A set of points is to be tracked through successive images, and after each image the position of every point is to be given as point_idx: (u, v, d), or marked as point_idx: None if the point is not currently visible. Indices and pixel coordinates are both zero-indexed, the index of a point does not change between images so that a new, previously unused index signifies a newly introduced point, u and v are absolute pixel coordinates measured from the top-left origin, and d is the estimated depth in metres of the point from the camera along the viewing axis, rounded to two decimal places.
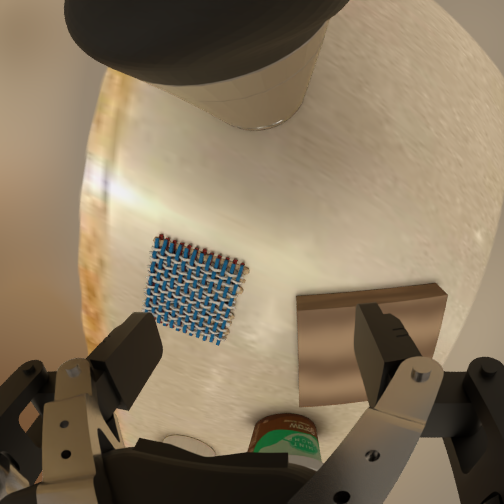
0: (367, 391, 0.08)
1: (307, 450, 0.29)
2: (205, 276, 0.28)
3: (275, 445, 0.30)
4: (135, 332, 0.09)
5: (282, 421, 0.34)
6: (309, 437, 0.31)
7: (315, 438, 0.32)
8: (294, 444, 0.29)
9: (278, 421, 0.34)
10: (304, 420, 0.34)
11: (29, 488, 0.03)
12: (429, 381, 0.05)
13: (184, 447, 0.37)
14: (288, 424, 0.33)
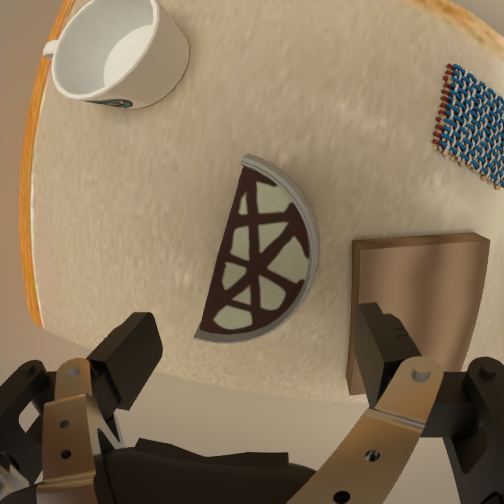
0: (367, 391, 0.08)
1: None
2: (501, 150, 0.18)
3: None
4: (135, 332, 0.09)
5: None
6: None
7: None
8: None
9: None
10: None
11: (29, 488, 0.03)
12: (429, 381, 0.05)
13: (180, 51, 0.19)
14: None
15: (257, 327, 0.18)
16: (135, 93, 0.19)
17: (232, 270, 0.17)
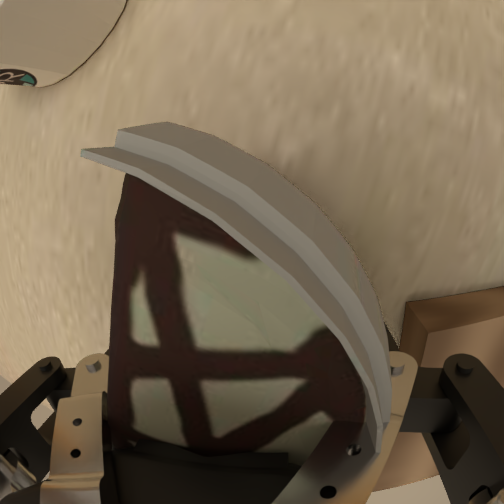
0: None
1: None
2: None
3: None
4: None
5: None
6: None
7: None
8: None
9: None
10: None
11: (29, 488, 0.03)
12: (402, 375, 0.05)
13: None
14: None
15: None
16: (23, 55, 0.07)
17: None
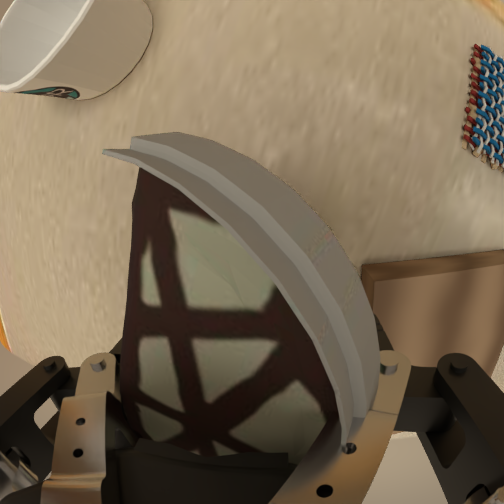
0: None
1: None
2: None
3: None
4: None
5: None
6: None
7: None
8: None
9: None
10: None
11: (29, 488, 0.03)
12: (395, 374, 0.06)
13: (137, 22, 0.13)
14: None
15: None
16: (77, 77, 0.12)
17: (153, 419, 0.06)
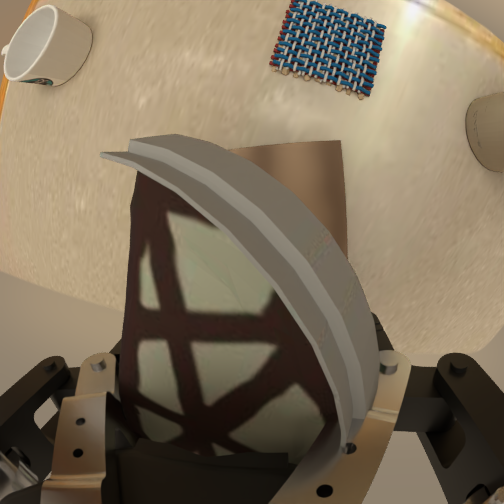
0: None
1: None
2: (356, 59, 0.22)
3: None
4: None
5: None
6: None
7: None
8: None
9: None
10: None
11: (29, 488, 0.03)
12: (395, 374, 0.06)
13: (80, 41, 0.22)
14: None
15: None
16: (49, 73, 0.22)
17: (153, 421, 0.06)
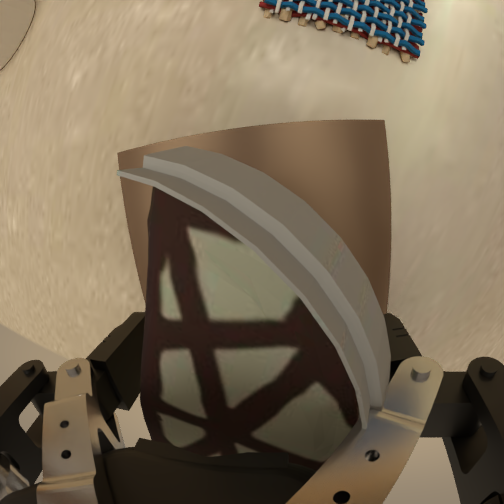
0: None
1: None
2: (395, 4, 0.11)
3: None
4: (135, 332, 0.09)
5: None
6: None
7: None
8: None
9: None
10: None
11: (29, 488, 0.03)
12: (429, 381, 0.05)
13: (16, 14, 0.11)
14: None
15: None
16: None
17: (175, 427, 0.06)
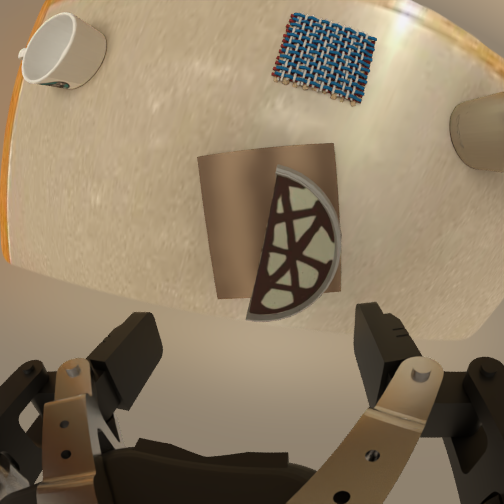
0: (367, 391, 0.08)
1: None
2: (349, 70, 0.25)
3: None
4: (135, 332, 0.09)
5: None
6: None
7: None
8: None
9: None
10: None
11: (29, 488, 0.03)
12: (429, 381, 0.05)
13: (96, 48, 0.25)
14: None
15: (298, 304, 0.22)
16: (67, 77, 0.25)
17: (275, 258, 0.21)
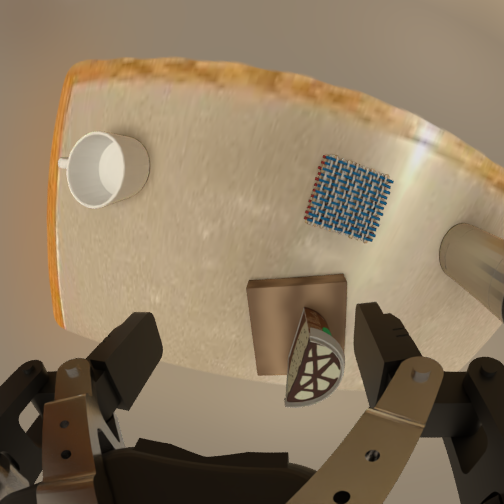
0: (367, 391, 0.08)
1: None
2: (366, 215, 0.37)
3: None
4: (135, 332, 0.09)
5: None
6: None
7: None
8: None
9: None
10: None
11: (29, 488, 0.03)
12: (429, 381, 0.05)
13: (142, 169, 0.37)
14: None
15: (316, 397, 0.33)
16: (119, 200, 0.37)
17: (304, 378, 0.32)
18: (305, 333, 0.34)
